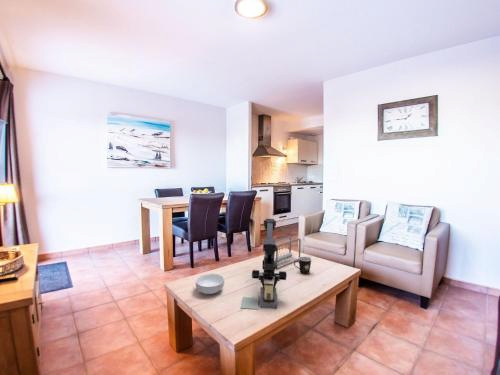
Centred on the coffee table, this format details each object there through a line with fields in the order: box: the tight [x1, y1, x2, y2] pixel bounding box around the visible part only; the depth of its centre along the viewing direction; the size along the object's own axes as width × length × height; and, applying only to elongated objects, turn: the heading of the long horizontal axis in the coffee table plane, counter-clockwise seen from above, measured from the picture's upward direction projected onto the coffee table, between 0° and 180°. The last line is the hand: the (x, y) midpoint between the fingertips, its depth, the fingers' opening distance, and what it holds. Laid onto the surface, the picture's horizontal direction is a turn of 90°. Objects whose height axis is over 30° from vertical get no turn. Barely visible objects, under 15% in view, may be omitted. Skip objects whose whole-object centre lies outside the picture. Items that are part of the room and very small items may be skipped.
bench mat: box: [240, 296, 260, 310], centre depth 134 cm, size 11×9×1 cm
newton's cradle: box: [274, 235, 302, 270], centre depth 193 cm, size 30×10×18 cm, turn 135°
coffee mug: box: [293, 256, 312, 276], centre depth 175 cm, size 12×9×10 cm
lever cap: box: [264, 282, 274, 302], centre depth 133 cm, size 3×4×10 cm, turn 86°
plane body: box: [259, 286, 278, 309], centre depth 139 cm, size 18×9×6 cm, turn 176°
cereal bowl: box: [195, 273, 225, 295], centre depth 147 cm, size 17×17×7 cm
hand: (268, 290), depth 132 cm, fingers closed on lever cap, 4 cm apart
